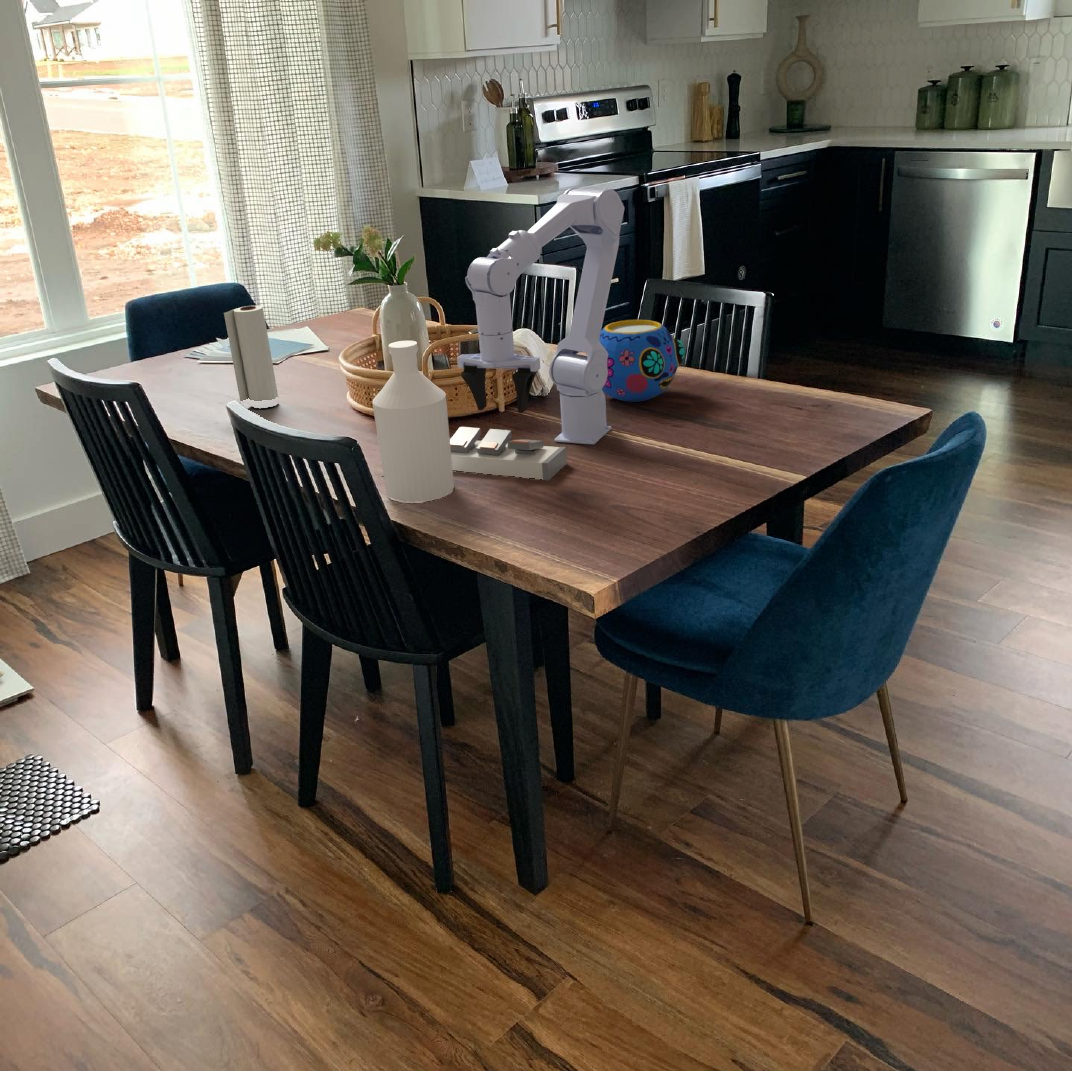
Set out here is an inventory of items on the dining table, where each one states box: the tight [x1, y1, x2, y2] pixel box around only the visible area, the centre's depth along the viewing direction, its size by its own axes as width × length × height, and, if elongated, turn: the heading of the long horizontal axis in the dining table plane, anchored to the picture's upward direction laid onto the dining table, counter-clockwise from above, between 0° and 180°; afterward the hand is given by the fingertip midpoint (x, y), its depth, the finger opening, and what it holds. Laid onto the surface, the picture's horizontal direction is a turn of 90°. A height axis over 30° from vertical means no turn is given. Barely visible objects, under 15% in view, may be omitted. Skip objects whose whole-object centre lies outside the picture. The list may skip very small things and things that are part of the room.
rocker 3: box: [508, 438, 544, 450], centre depth 183 cm, size 6×4×1 cm, turn 156°
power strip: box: [449, 437, 568, 481], centre depth 188 cm, size 8×29×4 cm, turn 66°
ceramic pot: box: [599, 319, 686, 403], centre depth 215 cm, size 18×18×15 cm
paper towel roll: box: [223, 305, 279, 402], centre depth 227 cm, size 7×6×21 cm
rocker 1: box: [450, 426, 482, 453], centre depth 188 cm, size 6×4×1 cm, turn 156°
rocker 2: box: [476, 428, 513, 456], centre depth 185 cm, size 6×4×1 cm, turn 156°
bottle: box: [371, 340, 455, 502], centre depth 174 cm, size 12×12×25 cm
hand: (502, 409), depth 183 cm, fingers open, 7 cm apart
